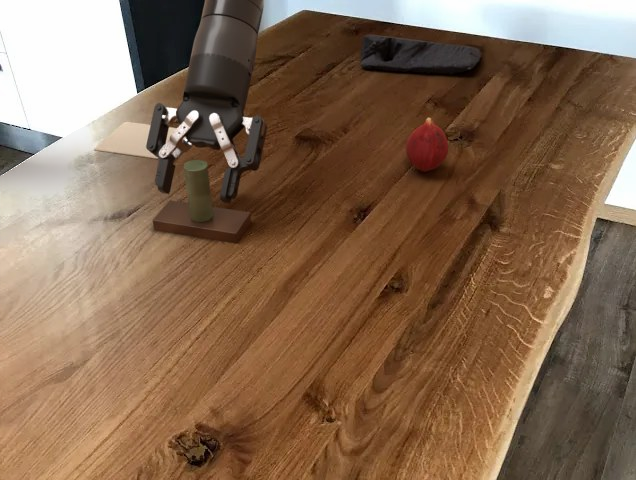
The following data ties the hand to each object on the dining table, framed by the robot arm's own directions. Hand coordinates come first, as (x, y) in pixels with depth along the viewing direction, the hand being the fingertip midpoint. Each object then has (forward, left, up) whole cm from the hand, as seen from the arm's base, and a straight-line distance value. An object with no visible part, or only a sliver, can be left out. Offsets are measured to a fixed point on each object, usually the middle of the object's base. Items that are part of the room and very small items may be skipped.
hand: (194, 196), depth 87 cm
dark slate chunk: (+16, +67, -7) cm, 70 cm away
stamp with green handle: (0, +1, -6) cm, 7 cm away
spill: (-19, +23, -6) cm, 31 cm away
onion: (+24, +25, -7) cm, 36 cm away
